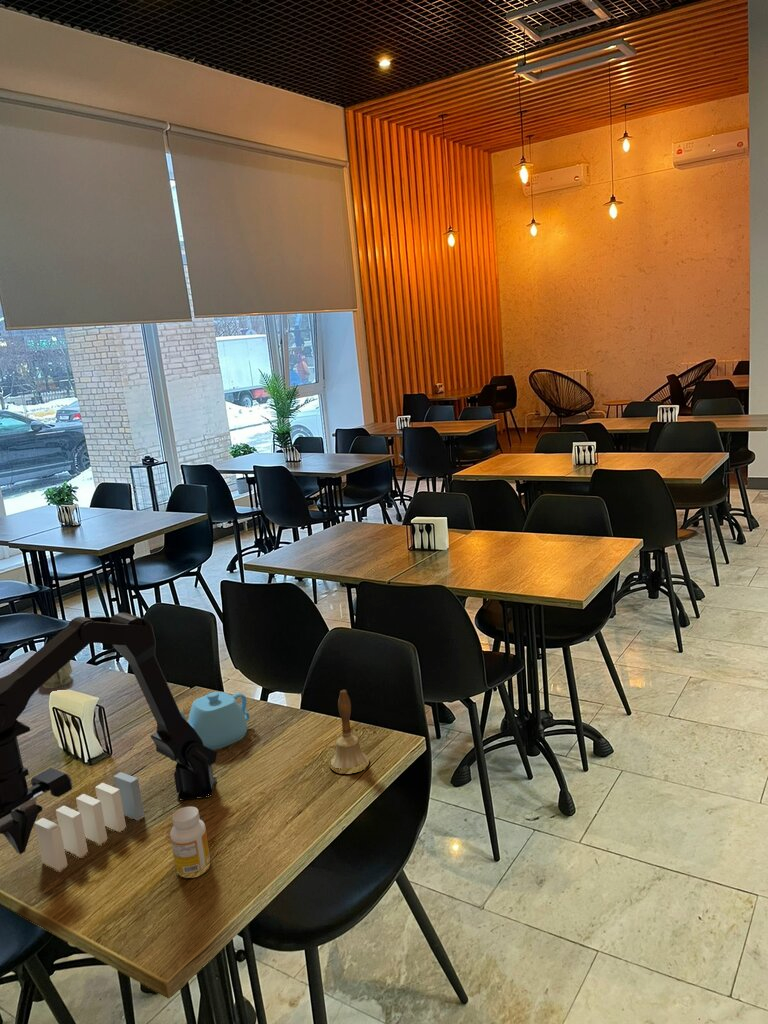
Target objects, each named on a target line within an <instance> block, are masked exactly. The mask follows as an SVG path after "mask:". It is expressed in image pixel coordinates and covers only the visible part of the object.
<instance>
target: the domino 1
mask: <svg viewBox="0 0 768 1024" xmlns="http://www.w3.org/2000/svg"><path fill="white" fill-rule="evenodd" d="M34 829H35V833H36V839H37V844H38V848H39V853H40V858H41V863H42V862H44V863H46V864H48V865H50V866H52V867H54V868H56V869H58V870H60V869H61V868H63V867H64V866H66V865H68V860H67V856H66V852H65V850H64V844H63V839H62V834H61V829H60V825H58V823H56V822H53V821H52V820H49V819H47V818H45V817H41V818H40V819H38V820H36V821H35V823H34Z"/></svg>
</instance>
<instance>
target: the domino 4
mask: <svg viewBox="0 0 768 1024" xmlns="http://www.w3.org/2000/svg"><path fill="white" fill-rule="evenodd" d="M94 789H95V794H96V799H97V800H100V801H101V806H102V811H103V817H104V822H105V826H107V827H109V828H111V829H114V830H116V831H121V830H123V829H124V828H125V827H126V828H127V824H126V820H125V818H126V817H125V816H124V812H123V806H122V800H121V794H120V789H117V788H115V786H112V785H110V784H107V783H105V782H101V783H99V784H97V785H96V786H95V787H94Z"/></svg>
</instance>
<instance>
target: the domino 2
mask: <svg viewBox="0 0 768 1024" xmlns="http://www.w3.org/2000/svg"><path fill="white" fill-rule="evenodd" d="M55 815H56V821H57V825H60V829H61V834H62V839H63V844H64V849H66V850H67V851H70V852H71V853H74V854H76V855H77V856H79V857H80V856H82V855H83V854H85V853H86V852H88V853H89V851H88V850H89V849H88V846H87V840H86V838H85V833H84V828H83V822H82V817H81V813H80V812H78V810H75V809H73V808H70V807H68V806H66V805H62V806H60V807H58V808H57V809H55Z"/></svg>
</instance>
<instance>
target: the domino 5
mask: <svg viewBox="0 0 768 1024" xmlns="http://www.w3.org/2000/svg"><path fill="white" fill-rule="evenodd" d="M113 781H114V787H115V788H117V789H120V794H121V800H122V806H123V812H124V815H125V816H128V817H131V818H134V819H137V820H138V819H139V818H141V817H142V816H144V817H145V813H144V812H145V811H144V806H143V805H144V804H143V799H142V794H141V790H140V789H141V788H140V783H139V778H138V777H135V776H134V775H133V776H132V775H130V774H127V773H124V772H121V771H120V772H118V773H117V774H115V775H113ZM125 816H124V817H125Z"/></svg>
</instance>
